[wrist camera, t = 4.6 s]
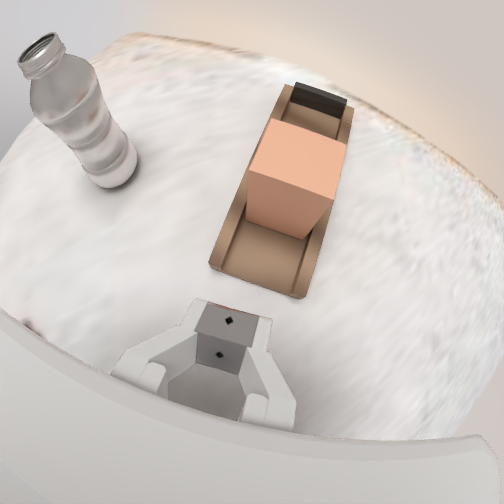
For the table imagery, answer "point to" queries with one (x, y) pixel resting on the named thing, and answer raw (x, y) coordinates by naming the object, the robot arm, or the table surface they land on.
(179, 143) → the table surface
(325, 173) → the block
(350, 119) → the chute
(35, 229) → the table surface
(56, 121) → the plastic bottle
